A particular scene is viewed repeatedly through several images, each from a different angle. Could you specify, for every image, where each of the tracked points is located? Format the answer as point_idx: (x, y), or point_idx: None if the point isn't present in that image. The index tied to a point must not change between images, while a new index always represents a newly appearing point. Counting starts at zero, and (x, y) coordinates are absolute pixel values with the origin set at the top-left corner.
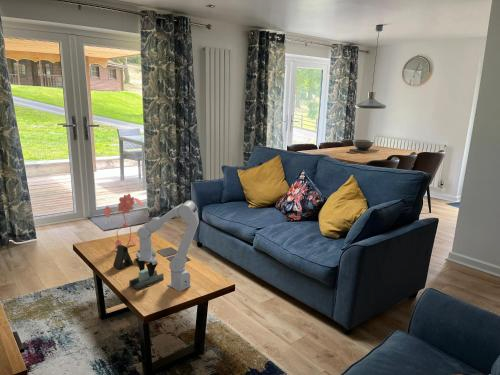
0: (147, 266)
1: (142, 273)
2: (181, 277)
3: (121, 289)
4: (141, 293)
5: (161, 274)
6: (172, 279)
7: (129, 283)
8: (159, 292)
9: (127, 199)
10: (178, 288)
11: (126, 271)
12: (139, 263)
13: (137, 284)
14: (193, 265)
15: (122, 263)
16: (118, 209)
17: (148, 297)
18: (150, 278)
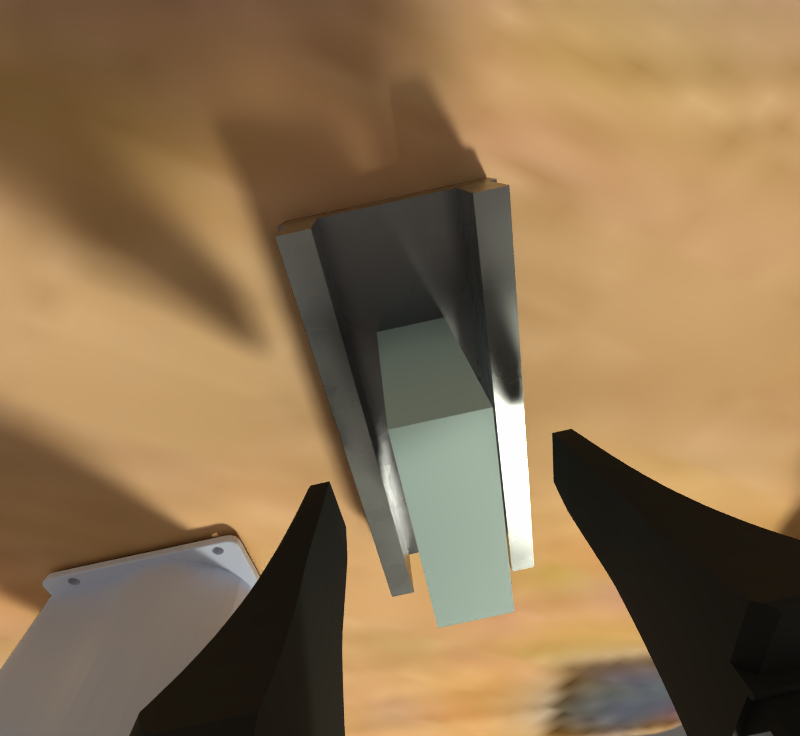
0: (212, 698)
1: (391, 439)
2: None
3: (461, 6)
4: (170, 236)
5: (392, 580)
6: (118, 647)
7: (489, 181)
8: (107, 425)
9: None
10: (87, 587)
11: None
12: (664, 558)
13: (280, 248)
14: (460, 733)
15: None
16: None
17: (8, 271)
18: (368, 466)
